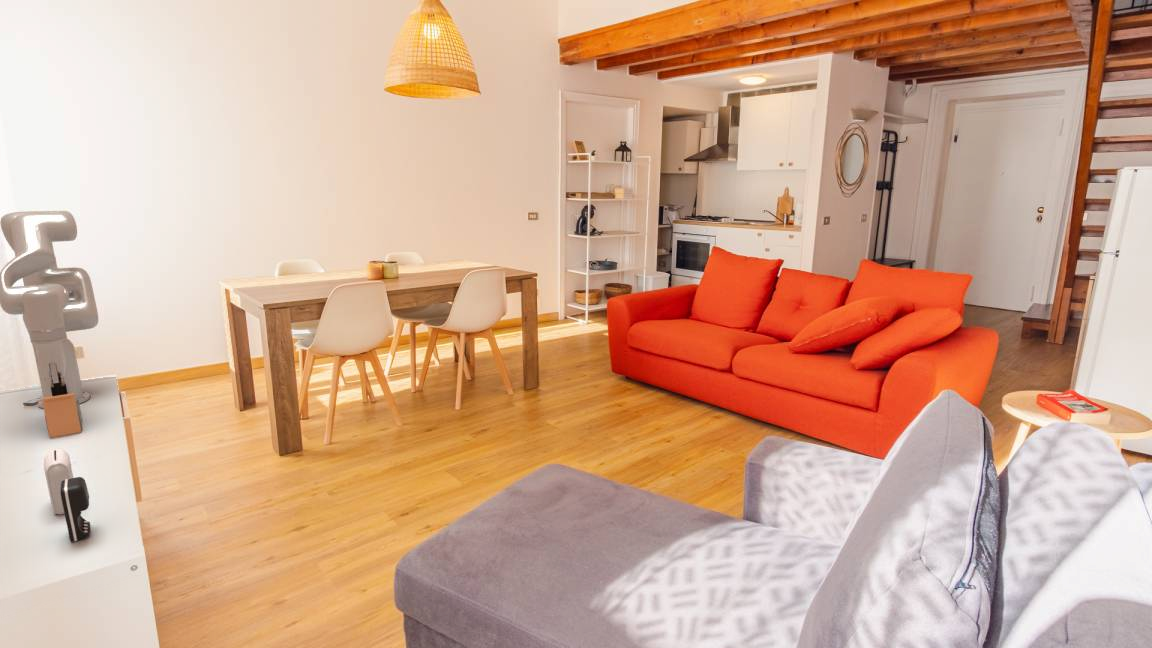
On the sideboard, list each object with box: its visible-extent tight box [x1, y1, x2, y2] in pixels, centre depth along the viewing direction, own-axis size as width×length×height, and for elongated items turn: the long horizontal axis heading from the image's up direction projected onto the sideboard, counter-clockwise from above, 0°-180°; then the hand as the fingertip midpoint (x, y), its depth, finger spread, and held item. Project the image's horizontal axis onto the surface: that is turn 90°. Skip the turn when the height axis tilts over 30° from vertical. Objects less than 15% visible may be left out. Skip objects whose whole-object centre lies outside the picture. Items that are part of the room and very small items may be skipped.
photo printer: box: [43, 448, 74, 515], centre depth 134 cm, size 10×4×12 cm, turn 39°
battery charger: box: [60, 476, 91, 543], centre depth 124 cm, size 7×4×11 cm, turn 37°
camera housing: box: [44, 400, 83, 438], centre depth 171 cm, size 10×7×8 cm
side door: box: [41, 393, 82, 440], centre depth 166 cm, size 1×7×12 cm, turn 128°
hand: (61, 399), depth 170 cm, fingers closed
